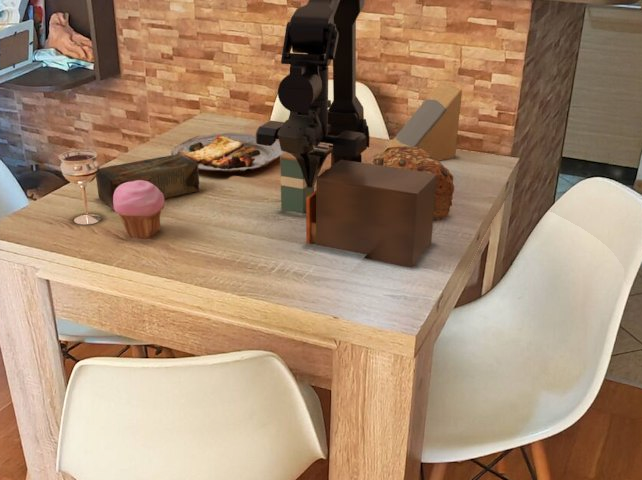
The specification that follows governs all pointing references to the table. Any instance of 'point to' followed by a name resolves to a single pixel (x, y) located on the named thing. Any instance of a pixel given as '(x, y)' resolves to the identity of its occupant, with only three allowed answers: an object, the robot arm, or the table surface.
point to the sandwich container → (434, 124)
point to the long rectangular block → (293, 185)
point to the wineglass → (81, 176)
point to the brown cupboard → (375, 211)
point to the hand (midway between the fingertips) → (310, 187)
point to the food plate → (228, 152)
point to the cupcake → (139, 207)
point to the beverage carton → (151, 176)
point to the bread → (425, 163)
